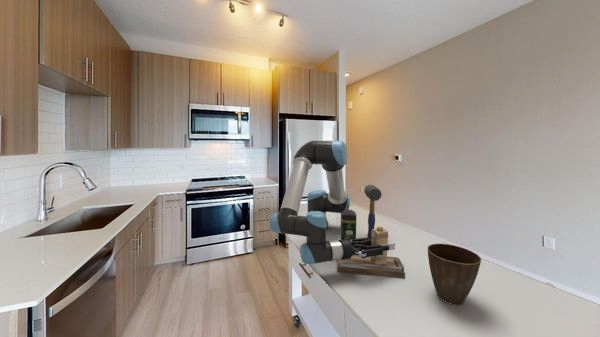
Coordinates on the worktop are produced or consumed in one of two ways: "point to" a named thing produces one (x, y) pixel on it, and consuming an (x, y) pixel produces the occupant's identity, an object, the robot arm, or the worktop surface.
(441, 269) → the plant pot
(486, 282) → the worktop surface
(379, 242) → the beige tall block
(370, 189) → the rubber mallet
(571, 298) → the worktop surface
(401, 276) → the walnut board
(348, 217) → the coffee jar
